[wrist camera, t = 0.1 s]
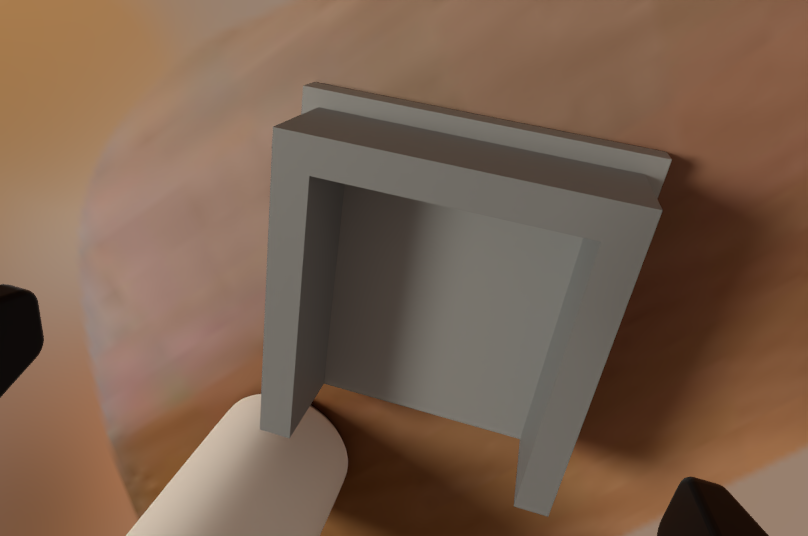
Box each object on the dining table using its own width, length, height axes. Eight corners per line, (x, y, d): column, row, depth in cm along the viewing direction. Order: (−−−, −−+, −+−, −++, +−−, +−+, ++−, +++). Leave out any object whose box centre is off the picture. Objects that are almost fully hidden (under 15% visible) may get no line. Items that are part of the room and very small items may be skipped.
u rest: (564, 435, 24) (565, 521, 20) (293, 359, 26) (244, 424, 22) (666, 152, 18) (695, 193, 14) (314, 81, 20) (253, 101, 16)
